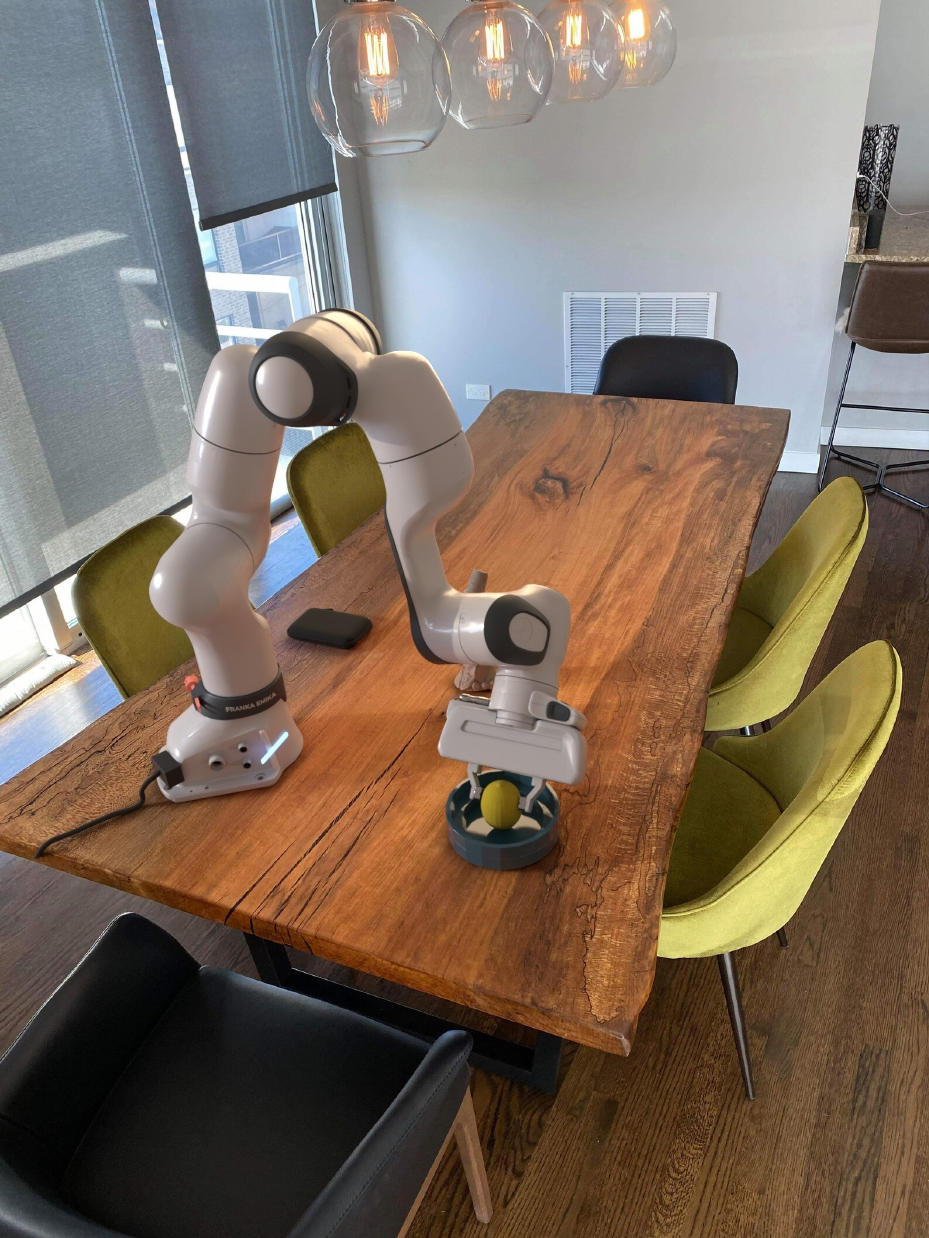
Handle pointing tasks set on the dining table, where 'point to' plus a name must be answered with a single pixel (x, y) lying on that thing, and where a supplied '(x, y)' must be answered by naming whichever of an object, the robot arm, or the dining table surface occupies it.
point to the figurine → (476, 674)
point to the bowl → (502, 846)
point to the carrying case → (330, 628)
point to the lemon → (501, 805)
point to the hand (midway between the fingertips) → (500, 805)
